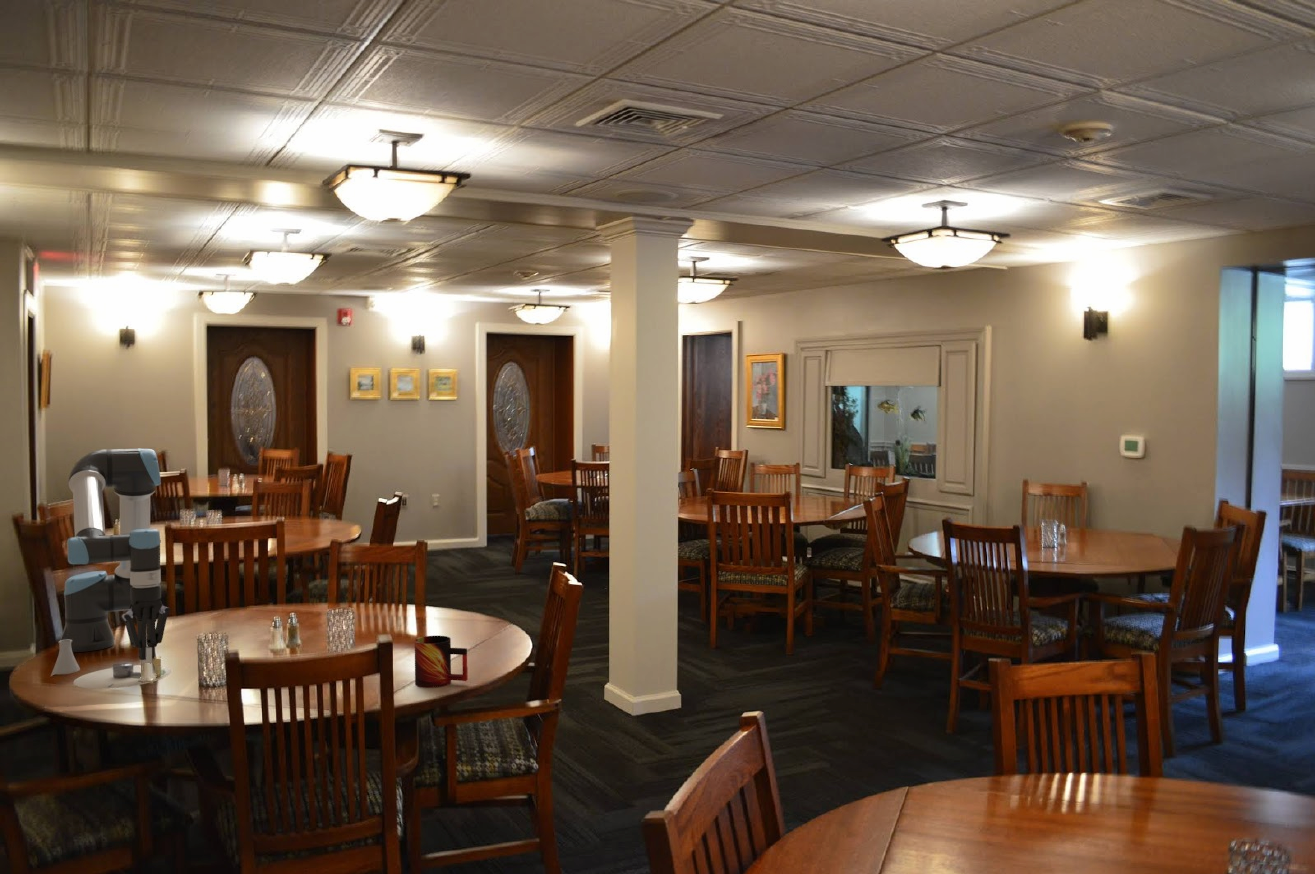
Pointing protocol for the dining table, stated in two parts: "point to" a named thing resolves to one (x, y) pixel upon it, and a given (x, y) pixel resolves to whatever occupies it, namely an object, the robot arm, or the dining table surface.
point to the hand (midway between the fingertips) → (147, 670)
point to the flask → (65, 659)
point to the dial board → (113, 679)
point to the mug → (437, 662)
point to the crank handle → (127, 669)
